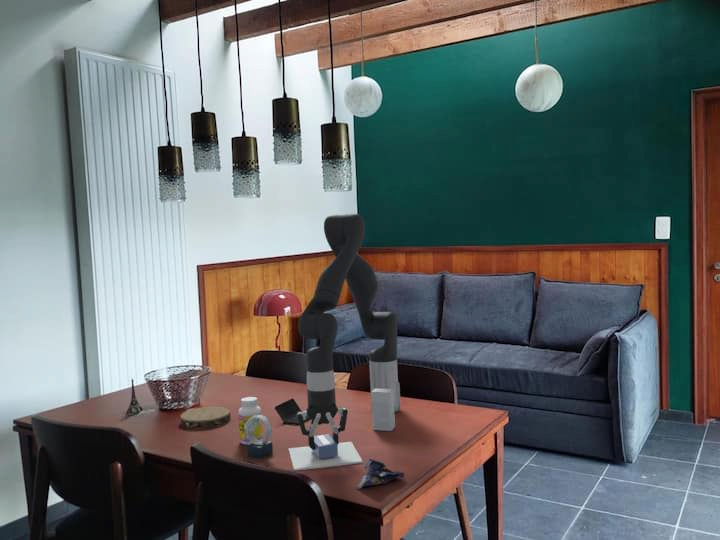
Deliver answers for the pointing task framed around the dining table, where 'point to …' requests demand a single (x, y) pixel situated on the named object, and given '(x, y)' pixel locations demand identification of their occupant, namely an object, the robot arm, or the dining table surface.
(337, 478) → the dining table surface
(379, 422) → the skincare box
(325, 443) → the card deck
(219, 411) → the beige round flat disc
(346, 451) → the mat
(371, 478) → the snack package
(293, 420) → the handheld gaming console
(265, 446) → the watch
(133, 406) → the eiffel tower figurine
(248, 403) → the supplement bottle
